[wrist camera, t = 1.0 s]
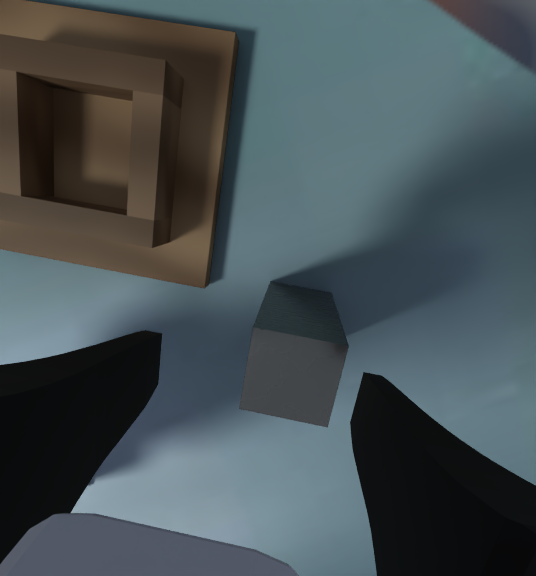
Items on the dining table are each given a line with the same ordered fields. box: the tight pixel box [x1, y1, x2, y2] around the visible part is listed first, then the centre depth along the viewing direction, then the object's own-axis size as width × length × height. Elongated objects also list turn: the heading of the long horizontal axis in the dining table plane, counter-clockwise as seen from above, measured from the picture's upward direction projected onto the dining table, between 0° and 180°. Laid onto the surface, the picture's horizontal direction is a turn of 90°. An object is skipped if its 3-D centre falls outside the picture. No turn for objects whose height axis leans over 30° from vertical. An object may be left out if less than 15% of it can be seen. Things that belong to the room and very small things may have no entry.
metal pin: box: [239, 281, 349, 427], centre depth 18 cm, size 4×4×8 cm
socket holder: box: [0, 0, 239, 288], centre depth 18 cm, size 14×14×4 cm
